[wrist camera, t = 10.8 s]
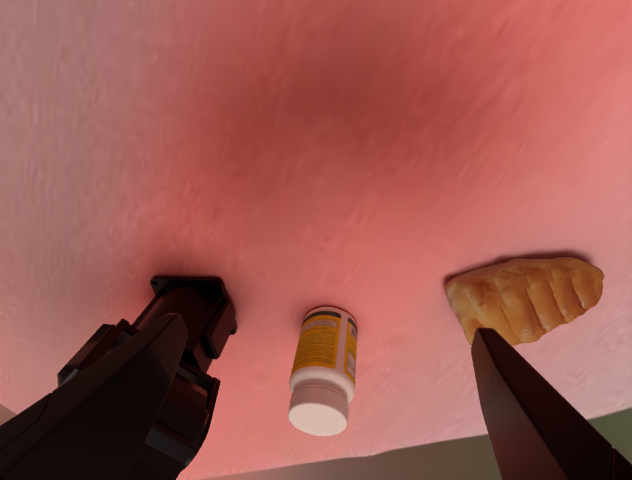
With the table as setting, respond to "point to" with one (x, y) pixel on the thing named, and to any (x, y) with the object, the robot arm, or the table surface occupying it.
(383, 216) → the table surface
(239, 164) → the table surface
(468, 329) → the pastry
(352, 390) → the supplement bottle
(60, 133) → the table surface
